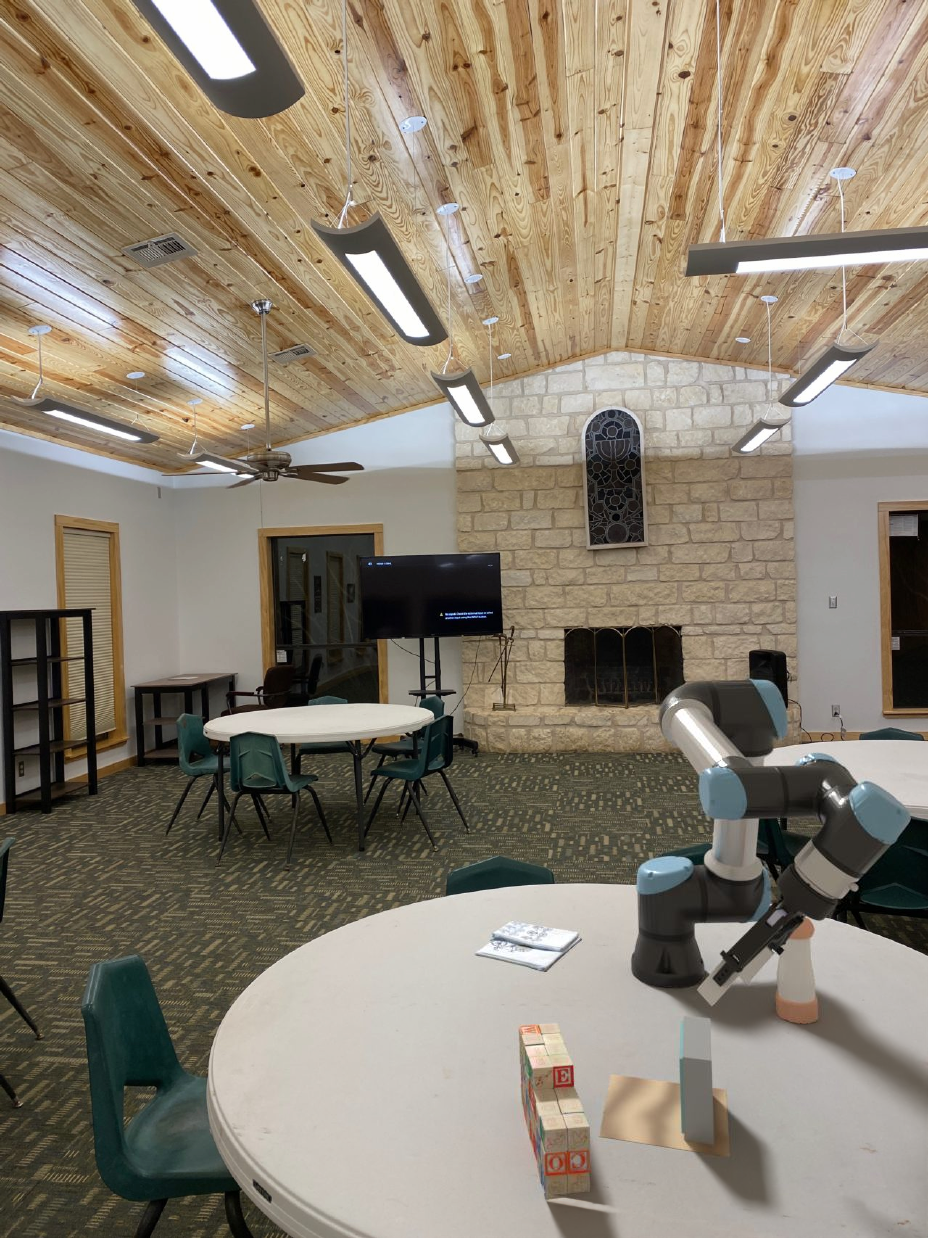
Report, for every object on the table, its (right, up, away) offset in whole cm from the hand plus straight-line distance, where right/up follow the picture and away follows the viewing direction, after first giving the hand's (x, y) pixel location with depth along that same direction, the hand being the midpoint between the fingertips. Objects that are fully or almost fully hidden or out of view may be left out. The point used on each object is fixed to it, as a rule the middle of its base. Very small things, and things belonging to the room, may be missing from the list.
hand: (723, 986), depth 114 cm
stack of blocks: (-25, -23, -1) cm, 34 cm away
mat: (-7, -22, +5) cm, 24 cm away
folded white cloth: (-23, -23, +68) cm, 75 cm away
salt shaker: (+25, -21, +34) cm, 47 cm away
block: (-2, -21, +3) cm, 22 cm away
